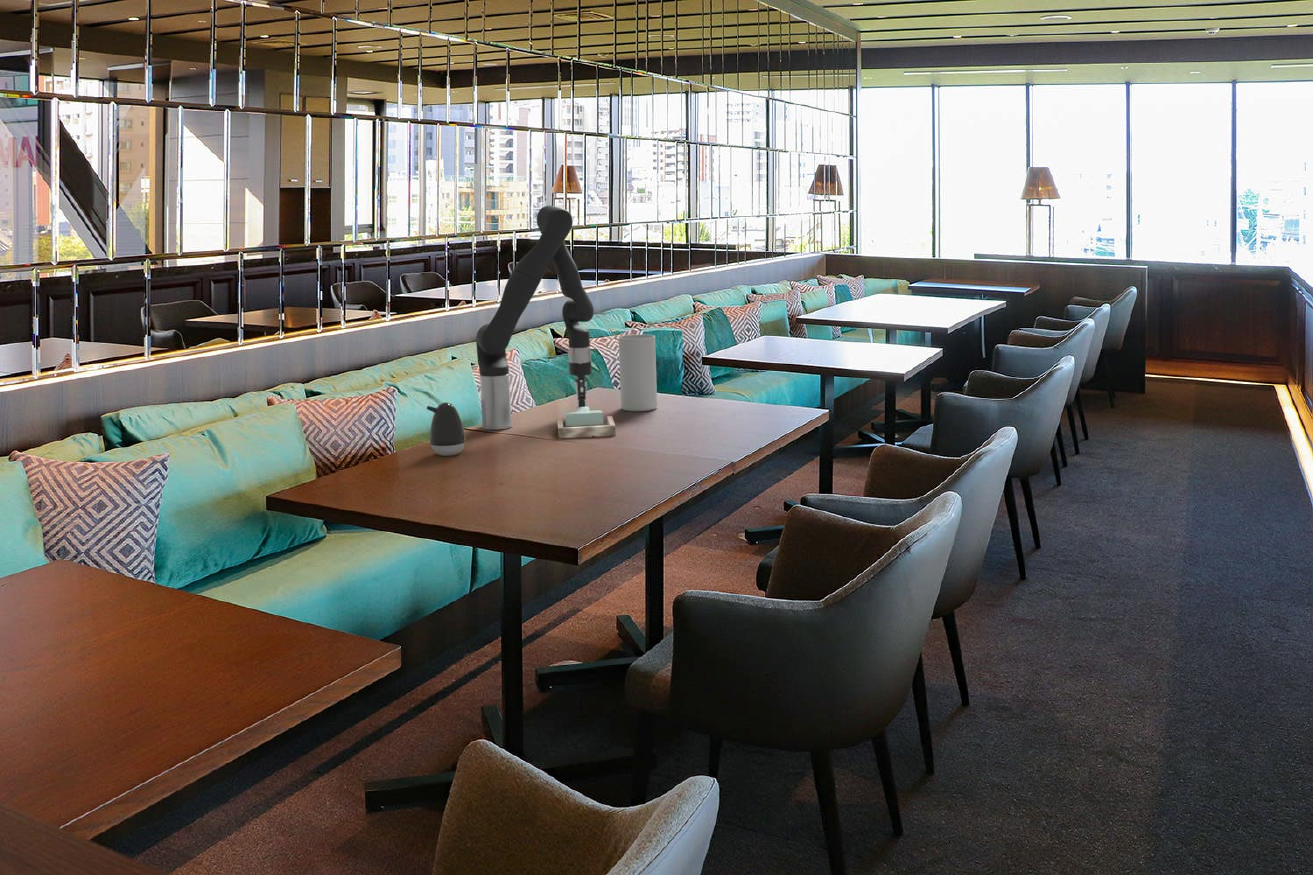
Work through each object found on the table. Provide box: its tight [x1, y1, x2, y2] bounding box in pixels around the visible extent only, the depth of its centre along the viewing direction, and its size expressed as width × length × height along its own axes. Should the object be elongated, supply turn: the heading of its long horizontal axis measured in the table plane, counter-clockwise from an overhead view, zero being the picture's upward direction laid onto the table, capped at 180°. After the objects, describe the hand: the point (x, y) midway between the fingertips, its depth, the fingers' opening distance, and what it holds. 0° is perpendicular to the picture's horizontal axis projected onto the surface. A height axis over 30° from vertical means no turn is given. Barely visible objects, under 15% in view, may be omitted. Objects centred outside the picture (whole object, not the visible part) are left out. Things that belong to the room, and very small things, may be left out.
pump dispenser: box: [426, 402, 466, 457], centre depth 320 cm, size 10×10×15 cm
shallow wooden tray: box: [557, 415, 616, 439], centre depth 348 cm, size 17×16×3 cm
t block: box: [564, 406, 604, 427], centre depth 364 cm, size 12×12×4 cm
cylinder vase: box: [618, 334, 658, 412], centre depth 382 cm, size 12×12×25 cm
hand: (582, 411), depth 375 cm, fingers closed
